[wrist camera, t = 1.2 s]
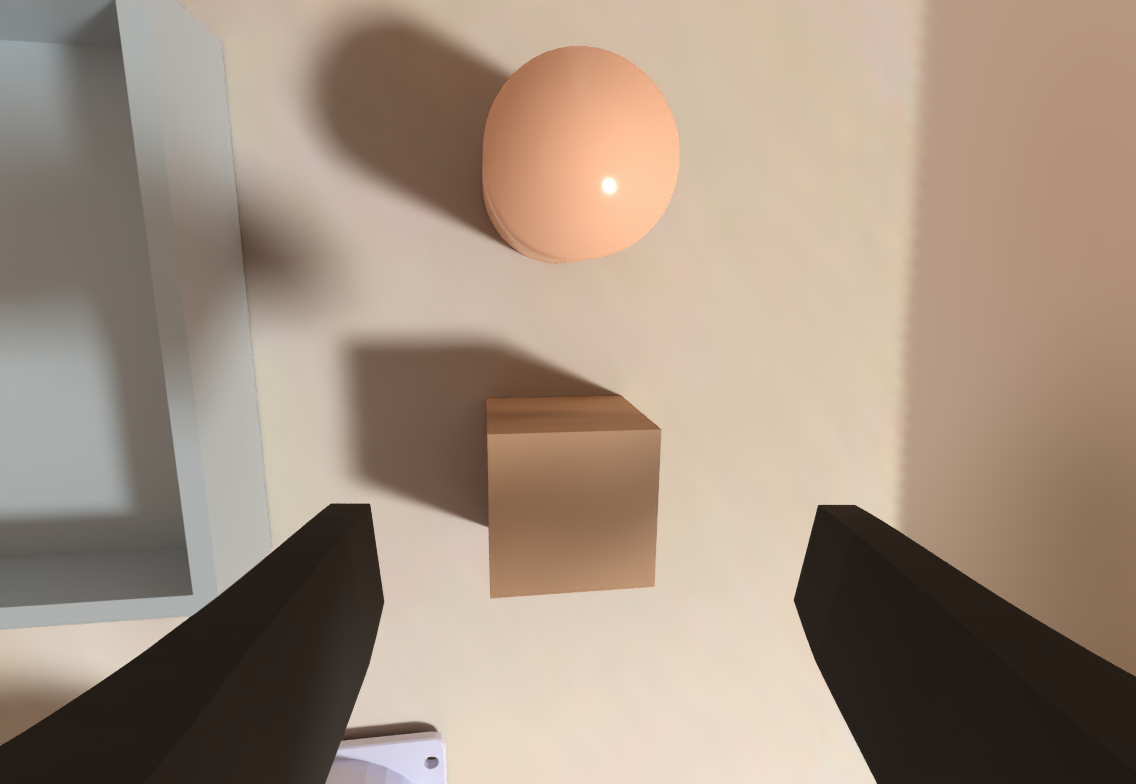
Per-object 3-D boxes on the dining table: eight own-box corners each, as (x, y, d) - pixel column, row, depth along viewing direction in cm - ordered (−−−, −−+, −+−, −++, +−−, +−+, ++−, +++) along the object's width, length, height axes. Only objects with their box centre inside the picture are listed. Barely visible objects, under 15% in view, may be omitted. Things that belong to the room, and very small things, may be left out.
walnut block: (616, 519, 21) (654, 586, 16) (488, 526, 20) (490, 598, 15) (620, 394, 20) (661, 429, 15) (485, 397, 19) (487, 434, 15)
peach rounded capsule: (624, 264, 19) (674, 260, 14) (483, 262, 18) (484, 257, 13) (629, 114, 18) (684, 53, 13) (481, 106, 17) (480, 38, 12)
